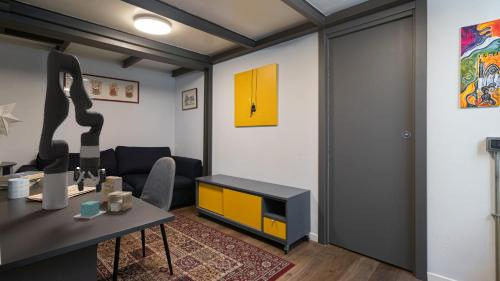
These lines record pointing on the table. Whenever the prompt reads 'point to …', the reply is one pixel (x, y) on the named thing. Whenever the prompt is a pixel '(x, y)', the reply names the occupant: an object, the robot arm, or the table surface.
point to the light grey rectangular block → (116, 206)
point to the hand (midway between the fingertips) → (89, 191)
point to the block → (90, 208)
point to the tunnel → (125, 199)
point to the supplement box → (112, 186)
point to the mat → (90, 216)
